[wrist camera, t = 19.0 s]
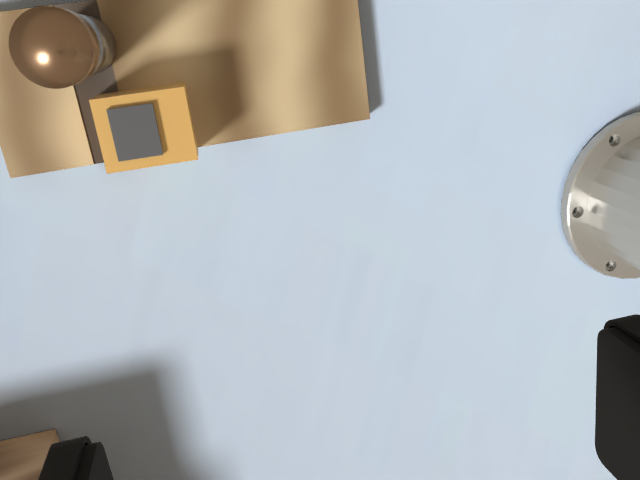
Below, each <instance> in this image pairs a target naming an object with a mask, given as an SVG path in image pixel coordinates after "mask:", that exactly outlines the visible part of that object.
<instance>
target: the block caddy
mask: <svg viewBox="0 0 640 480" xmlns="http://www.w3.org/2000/svg"><path fill="white" fill-rule="evenodd" d="M57 442H60V441H59V438H58V435H57V432H56V429H53V430H48V431H44V432H39V433H35V434H30V435H25V436H21V437H16V438H12V439H7V440H3V441H0V480H38V479H39V476H40V473H41V471H42V468H43V465H44V462H45V459H46V457H47V454H48V451H49V448H50V447H51V445H52V444H54V443H57Z"/></svg>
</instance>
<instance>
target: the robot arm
mask: <svg viewBox="0 0 640 480" xmlns="http://www.w3.org/2000/svg"><path fill="white" fill-rule="evenodd" d="M561 219H562V226H563V231H564V234H565V236H566V239H567V242H568V244H569V245H570V247H571V249H572V250H573V252H574V253H575V255H576V256H577V257H578V258H579V259H581V260H582V261H583V262H584V263H585V264H586V265H588V266H590V267H591V268H593V269H594V270H596V271H598V272H600V273H602V274H604V275H607V276H611V277H616V278H621V279H625V278H639V277H640V112H635V113H632V114H629V115H627V116H624V117H622V118H619V119H618V120H616V121H614V122H613V123H611V124H609V125H608V126H606V127H605V128H604V129H602V130H601V131H600V132H599V133H598V134H597V135H595V136H594V137H593V138H592V139H591V140H590V141H589V143H588V144H587V145H586V146H585V147H584V149H583V150H582V151H581V152H580V154H579V156H578V157H577V159H576V161H575V162H574V164H573V166H572V167H571V170H570V172H569V175H568V177H567V180H566V182H565V186H564V190H563V195H562V201H561ZM595 448H596V452H597V455H598V457H599V459H600V461H601V462H602V464H603V465H604V466H605V467H606V468H607V469H608V470H609V471H610V472H611V473H612V475H613V476H614V477H615V478H616V479H617V480H640V315H631V316H627V317H622V318H617V319H613V320H609V321H608V322H606V324H605V326H604V329H603V330H601V331H600V332H599V334H598V338H597V382H596V425H595ZM38 480H113V476H112V473H111V470H110V467H109V463H108V460H107V457H106V453H105V450H104V447H103V445H102V443H101V442H97V443H91V441H90V439H89V438H88V437H87V436H85V437H80V438H75V439H71V440H66V441H62V442H57V443H54V444H52V445H51V447H50V448H49V451H48V454H47V457H46V459H45V462H44V465H43V468H42V471H41V473H40V476H39V479H38Z"/></svg>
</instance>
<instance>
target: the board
mask: <svg viewBox="0 0 640 480" xmlns="http://www.w3.org/2000/svg"><path fill="white" fill-rule="evenodd" d="M48 6H53V7H58V8H63V9H67V10H70V11H73V12H75V13H77V14H82V15H87V16H92V17H95V18H97V19H99V20H101V21H102V22H104V23H105V24H106V25H107V26H108V27H109V28H110V30H111V31H112V33H113V35H114V37H115V40H116V48H117V49H116V56H115V59H114V61H113V63H112V64H111V65H110V66H109V67H108V68H107V69H106V70H104V71H103V72H100V73H98V74H95V75H92V76H90V77H88V78H87V79H85V80H84V81H82V82H80V83H77V84H75V85H72V86H69V87H66V88H61V89H51V88H46V87H42V86H40V85H37V84H35V83H33V82H32V81H30V80H29V79H27V78H26V77H25V76H24V75H23V74H22V73H21V72H20V71H19V70H18V68H17V67H16V66H15V64H14V62H13V60H12V57H11V55H10V51H9V34H10V30H11V27H12V25H13V23H14V22H15V20H16V19H17V18H18V17H19V16H20V15H21V14H22V13H24V12H25V11H27V10H29V9H31V8H25V9H18V10H10V11H2V12H0V146H1V149H2V152H3V156H4V159H5V162H6V165H7V169H8V172H9V175H10V178H14V177H20V176H26V175H32V174H38V173H44V172H50V171H56V170H62V169H68V168H75V167H81V166H87V165H93V164H97V163H103V162H104V160H103V156H102V152H101V148H100V143H99V139H98V135H97V131H96V127H95V123H94V119H93V115H92V111H91V107H90V103H89V100H90V99H92V98H93V97H95V96H97V95H98V94H104V93H111V92H119V91H126V90H133V89H140V88H147V87H154V86H162V85H169V84H176V83H183V82H186V88H187V93H188V98H189V103H190V109H191V114H192V119H193V124H194V130H195V135H196V140H197V145H198V147H202V146H208V145H214V144H220V143H226V142H232V141H239V140H245V139H251V138H257V137H263V136H269V135H275V134H281V133H287V132H293V131H299V130H305V129H311V128H318V127H324V126H330V125H336V124H342V123H348V122H354V121H360V120H366V119H370V113H369V104H368V94H367V84H366V75H365V65H364V56H363V46H362V37H361V27H360V17H359V8H358V0H88V1H80V2H73V3H65V4H57V5H48ZM33 8H34V7H33Z"/></svg>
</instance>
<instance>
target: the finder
mask: <svg viewBox="0 0 640 480" xmlns="http://www.w3.org/2000/svg"><path fill="white" fill-rule="evenodd" d="M89 103H90V107H91V111H92V115H93V119H94V123H95V127H96V131H97V135H98V139H99V143H100V148H101V152H102V156H103V160H104V164H105V168H106V172H107V174H108V173H114V172H121V171H127V170H133V169H140V168H146V167H153V166H159V165H165V164H172V163H178V162H184V161H191V160H197V159H198V145H197V140H196V135H195V130H194V124H193V119H192V114H191V109H190V103H189V98H188V93H187V88H186V82H183V83H176V84H169V85H162V86H154V87H147V88H140V89H133V90H126V91H119V92H111V93H104V94H98V95H97V96H95V97H93V98H92V99H90V100H89Z"/></svg>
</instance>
